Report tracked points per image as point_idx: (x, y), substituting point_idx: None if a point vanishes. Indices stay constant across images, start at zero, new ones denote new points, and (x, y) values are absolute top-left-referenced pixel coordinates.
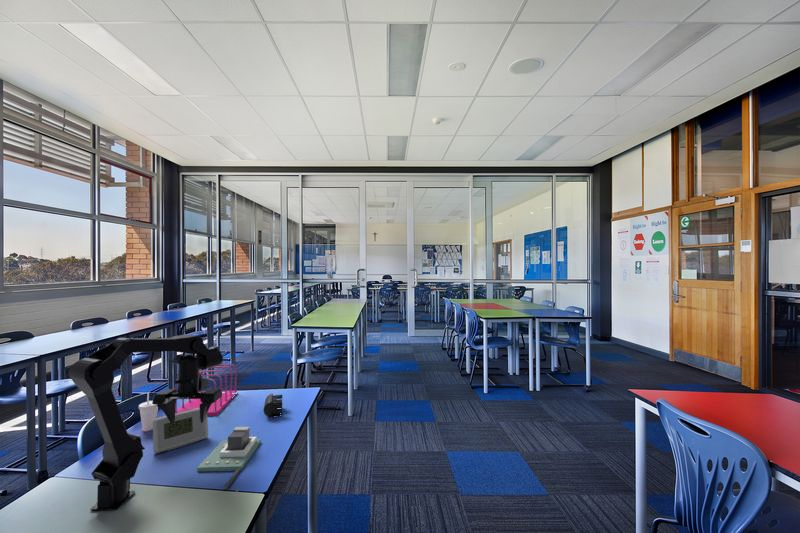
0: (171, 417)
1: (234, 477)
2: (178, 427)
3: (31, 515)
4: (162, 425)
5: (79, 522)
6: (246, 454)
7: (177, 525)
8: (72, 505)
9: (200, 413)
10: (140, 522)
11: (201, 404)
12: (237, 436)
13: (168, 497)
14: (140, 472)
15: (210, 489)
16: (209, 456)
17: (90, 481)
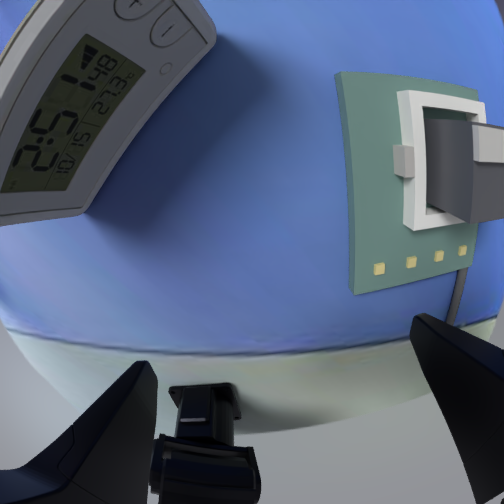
0: (148, 436)
1: (459, 302)
2: (65, 123)
3: None
4: (2, 200)
5: None
6: None
7: (386, 407)
8: None
9: (453, 429)
10: (318, 420)
11: (490, 498)
12: (496, 215)
13: (330, 378)
14: (143, 312)
15: None
16: (362, 222)
17: (65, 347)
